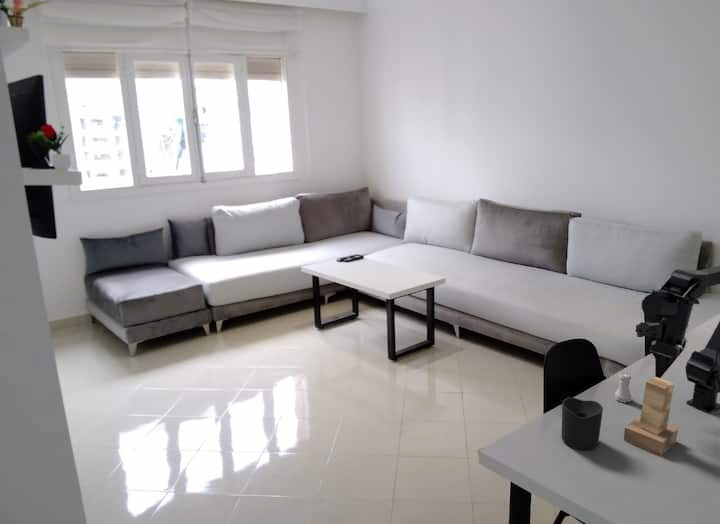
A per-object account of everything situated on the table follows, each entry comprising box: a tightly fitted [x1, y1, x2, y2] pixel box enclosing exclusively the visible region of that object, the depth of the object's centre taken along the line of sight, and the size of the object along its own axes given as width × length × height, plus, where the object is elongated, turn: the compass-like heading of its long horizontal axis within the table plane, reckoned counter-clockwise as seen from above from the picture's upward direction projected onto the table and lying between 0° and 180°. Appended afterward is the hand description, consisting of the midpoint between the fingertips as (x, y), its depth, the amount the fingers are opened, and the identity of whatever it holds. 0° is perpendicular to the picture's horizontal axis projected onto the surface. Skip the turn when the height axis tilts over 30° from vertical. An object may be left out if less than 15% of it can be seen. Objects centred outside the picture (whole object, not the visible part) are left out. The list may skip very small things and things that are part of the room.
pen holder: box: [561, 396, 604, 451], centre depth 137 cm, size 9×9×10 cm
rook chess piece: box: [614, 372, 632, 404], centre depth 157 cm, size 4×4×8 cm
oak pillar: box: [639, 377, 675, 435], centre depth 135 cm, size 4×4×12 cm
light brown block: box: [623, 415, 679, 457], centre depth 137 cm, size 9×9×4 cm
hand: (660, 374), depth 144 cm, fingers open, 9 cm apart
